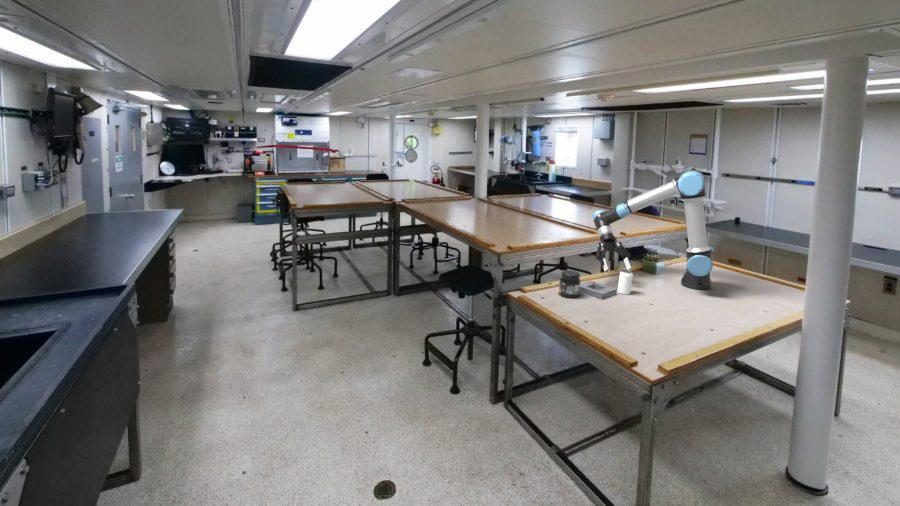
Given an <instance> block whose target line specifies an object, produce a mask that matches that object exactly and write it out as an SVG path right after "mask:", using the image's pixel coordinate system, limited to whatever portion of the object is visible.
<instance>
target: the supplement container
mask: <svg viewBox="0 0 900 506" xmlns="http://www.w3.org/2000/svg"><path fill="white" fill-rule="evenodd" d="M558 283H559V284H558V286H559V287H558V294H559V295H560V296H561V297H563V298H567V299H574V298H575V299H576V298H577V297H579V295H580V292H579V289H580V284H581V273H580V272H579V271H576V270H572V269H569V270H568V269H567V270H566V269H565V270H562V271H561V272H560V277H559V282H558Z"/></svg>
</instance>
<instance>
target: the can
mask: <svg viewBox="0 0 900 506" xmlns="http://www.w3.org/2000/svg"><path fill="white" fill-rule="evenodd" d="M633 276H634V274H633V270H630V269H629V270H627V269H621V270H620V272H619V277H618V283H617V284H618V285H617V293H619V294H621V295H625V296H627V295H630V294H631V292H632V284H633Z"/></svg>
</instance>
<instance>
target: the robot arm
mask: <svg viewBox="0 0 900 506" xmlns="http://www.w3.org/2000/svg"><path fill="white" fill-rule="evenodd" d="M705 183H706V180H705V176H704V174H703V173H702V172H701V171H699V170H696V169H689V170H687V171H685V172H684V173H682V174H680V175H678V176H677V177H674V178H673V179H672V181H670V182H667V183H664V184H663V185H660V186H657V187H656V188H653V189H651V190H648V191H646V192H643V193H641V194H639V195H636V196H634V197H632V198H630V199H627V200H625V201H622V202H619V203H618V204H617V205H615V206H614V207H612V208H610V209H608V210H604V209H599V210H596V211H594V212H593V213H592V219H593V223H594V225H595V229H596V233H597V234H598V238H599V240H600V242H598V243H597V244H596V248H597V249H596V254H595V260H597V261H598V262H600V265H601V266H602V268H603V270H604V272H607V271H608V270H609V267H608V265H607V262H606V258H605V257H604V256H605V255H606V253H607V252H615V253H617V254H618V255H619V256H621V257H622V258H623V261H624V265H625V267H626V270H630V269H631V268H632V267H631V261H630V257H631V256H632V254H631V253H630V252H629V251H628V250H627V248H626V247H624V245H623V244H622V242H621V241H619V242H616V239H615V235H614V233H613V230H612V229H613V228H612V227H611V224H613V223H616V222H618V221H621V220H623V219H625V218H626V217H628V216H630V214H633V213H634V212H637V211H639V210H642V209H644V208H647V207H649V206H651V205H654V204H657V203H659V202H662V201H664V200H666V199H668V198H671V197H674V196H676V195H679V198H680V201H682V202H683V204H684V205H683V207H684V213H685V215H684V216H685V222H686V233H687V241H688V242H687V243H688V247H687V249H686V250H685V253H686V271H685V272H684V274H683V276H682V277H681V279H680V285H682V286H683V287H686V288H688V289H691V290H699V291H708V290H711V289H712V278H711V271H712V270H713V268H714V263H713V260H714V258H713V257H714V254H715V248H714V247H713V246H709V245H708V237H707V229H706V217H705V208H704V199H705V197H706V196H707V194H706V193H707V192H706V184H705ZM602 248H603V249H602ZM601 251H602V252H601Z"/></svg>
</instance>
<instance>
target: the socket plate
mask: <svg viewBox="0 0 900 506" xmlns="http://www.w3.org/2000/svg"><path fill="white" fill-rule="evenodd" d="M579 293H582V294H584V295H588V296H591V297H593V298H597V299H599V300H604V299H607V298H609V297H612V296H616V295H617V293H618V288H615V287H612V286H609V285H606V284H603V283H600V282H596V281H594V280H591V279H590V280H589V281H585V282H582V283H580V289H579Z"/></svg>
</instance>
